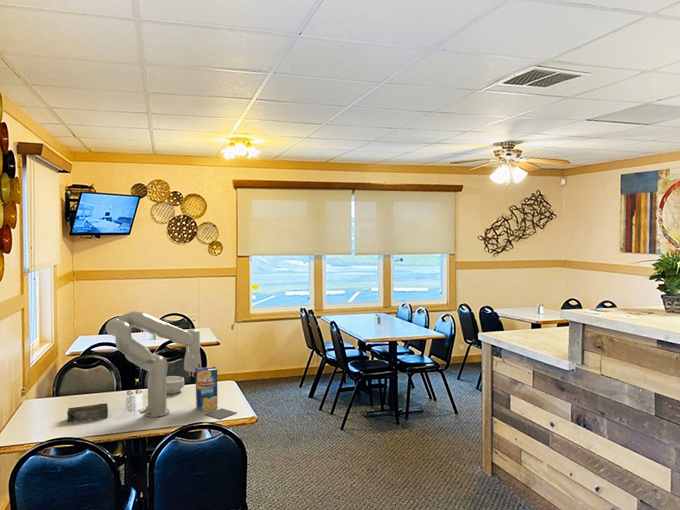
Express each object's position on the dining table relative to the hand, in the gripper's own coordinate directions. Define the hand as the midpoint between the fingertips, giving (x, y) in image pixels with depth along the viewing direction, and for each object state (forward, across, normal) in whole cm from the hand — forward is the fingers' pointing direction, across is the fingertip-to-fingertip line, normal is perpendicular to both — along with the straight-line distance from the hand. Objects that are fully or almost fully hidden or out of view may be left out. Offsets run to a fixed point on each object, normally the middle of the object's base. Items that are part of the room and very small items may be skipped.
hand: (193, 383), depth 305 cm
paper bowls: (+12, -30, +8) cm, 33 cm away
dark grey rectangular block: (+13, -26, -48) cm, 56 cm away
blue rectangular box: (+12, +12, 0) cm, 17 cm away
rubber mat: (+12, +26, -2) cm, 28 cm away
